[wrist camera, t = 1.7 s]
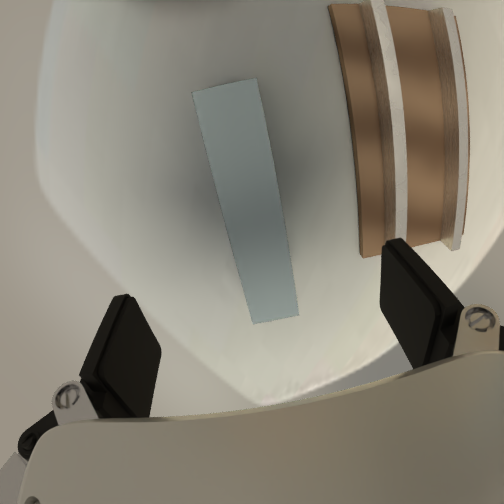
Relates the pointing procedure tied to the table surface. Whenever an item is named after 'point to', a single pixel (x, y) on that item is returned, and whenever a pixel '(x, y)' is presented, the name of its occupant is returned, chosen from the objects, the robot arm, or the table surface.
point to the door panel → (248, 195)
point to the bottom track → (405, 122)
